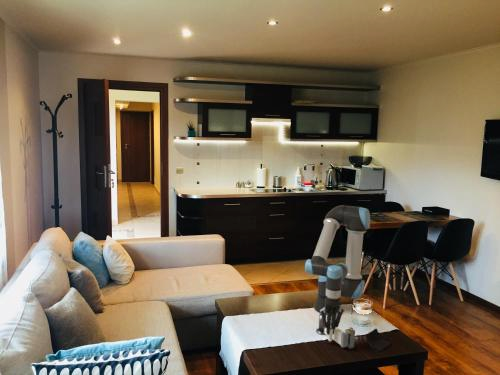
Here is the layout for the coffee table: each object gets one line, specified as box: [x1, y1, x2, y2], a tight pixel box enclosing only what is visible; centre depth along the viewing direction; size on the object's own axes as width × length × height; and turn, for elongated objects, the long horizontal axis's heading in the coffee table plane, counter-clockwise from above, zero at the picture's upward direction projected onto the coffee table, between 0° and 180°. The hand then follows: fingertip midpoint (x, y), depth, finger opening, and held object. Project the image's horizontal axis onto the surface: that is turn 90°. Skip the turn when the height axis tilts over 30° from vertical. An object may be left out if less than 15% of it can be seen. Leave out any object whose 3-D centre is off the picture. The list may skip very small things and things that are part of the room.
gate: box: [324, 327, 348, 348], centre depth 215 cm, size 3×15×7 cm, turn 28°
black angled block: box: [364, 328, 392, 353], centre depth 214 cm, size 12×7×10 cm
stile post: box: [344, 326, 356, 349], centre depth 210 cm, size 3×4×10 cm
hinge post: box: [315, 313, 327, 336], centre depth 224 cm, size 6×6×10 cm
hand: (329, 339), depth 213 cm, fingers closed
